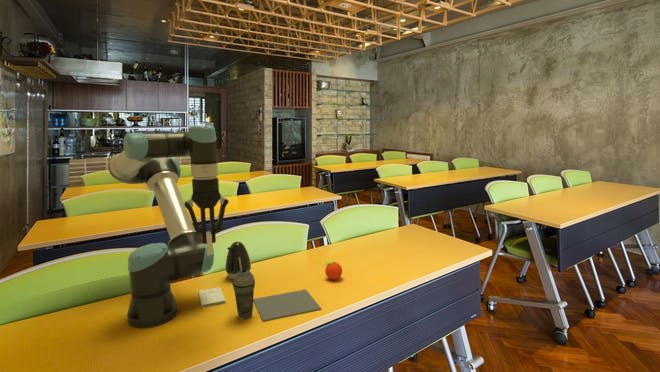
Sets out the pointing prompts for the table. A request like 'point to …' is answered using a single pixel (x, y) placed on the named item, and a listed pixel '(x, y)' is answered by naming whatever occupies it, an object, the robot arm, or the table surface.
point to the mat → (285, 305)
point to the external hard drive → (211, 297)
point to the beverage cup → (244, 292)
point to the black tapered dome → (237, 259)
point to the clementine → (333, 270)
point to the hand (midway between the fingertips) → (209, 253)
